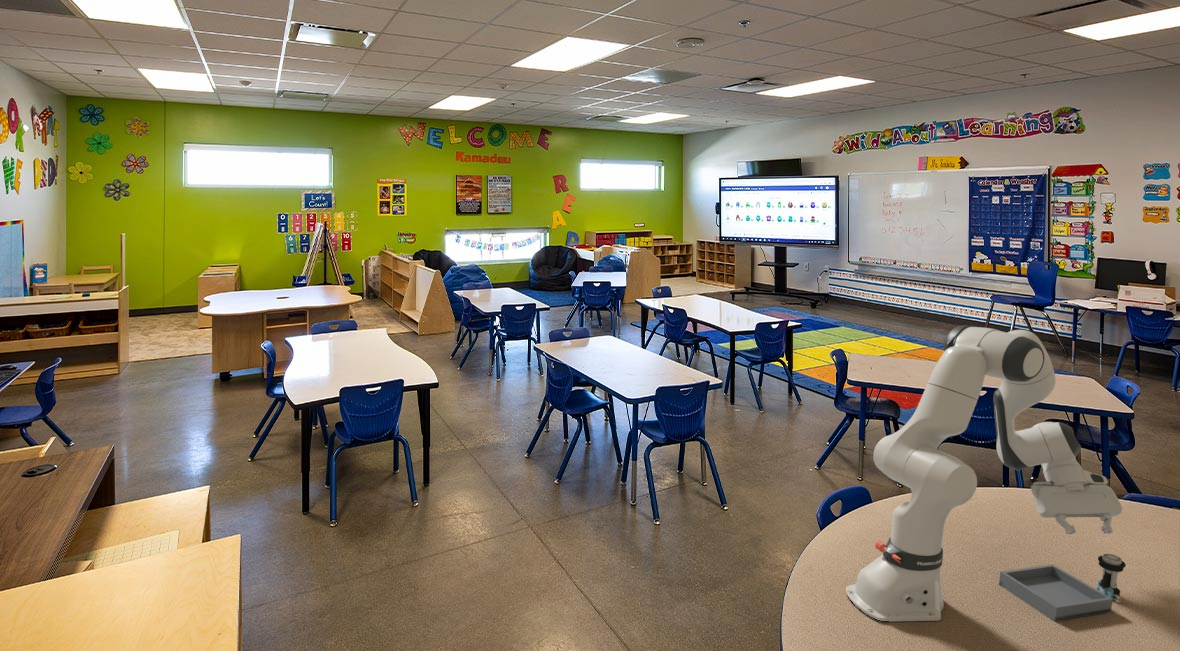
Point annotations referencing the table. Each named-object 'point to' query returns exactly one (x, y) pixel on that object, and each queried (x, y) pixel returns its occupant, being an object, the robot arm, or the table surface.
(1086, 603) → the dock tray
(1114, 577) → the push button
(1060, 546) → the table surface
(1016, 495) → the table surface
